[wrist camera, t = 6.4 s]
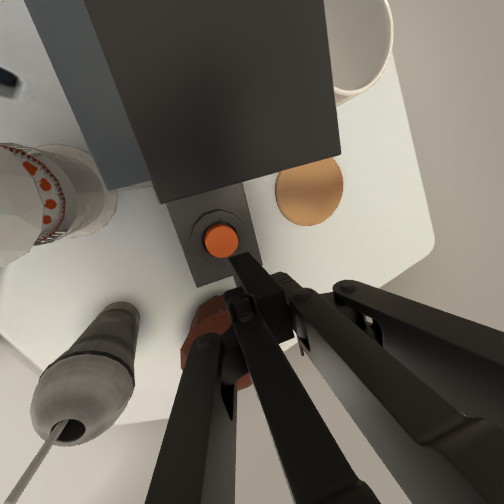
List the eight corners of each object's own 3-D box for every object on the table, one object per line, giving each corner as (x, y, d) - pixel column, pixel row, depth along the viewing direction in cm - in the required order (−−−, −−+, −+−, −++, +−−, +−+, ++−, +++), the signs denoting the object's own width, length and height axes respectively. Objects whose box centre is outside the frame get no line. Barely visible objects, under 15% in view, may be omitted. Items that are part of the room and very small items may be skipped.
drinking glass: (294, 139, 31) (383, 104, 17) (242, 131, 29) (296, 85, 15) (301, 79, 29) (406, -14, 16) (247, 66, 28) (312, -51, 14)
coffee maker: (107, 67, 24) (-287, -533, 4) (303, 33, 28) (617, -356, 8) (155, 195, 29) (85, 225, 8) (320, 150, 32) (551, 96, 12)
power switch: (166, 201, 29) (164, 203, 25) (237, 181, 31) (245, 181, 27) (195, 280, 33) (197, 293, 29) (257, 259, 34) (266, 269, 31)
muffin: (254, 277, 35) (279, 311, 26) (266, 340, 38) (292, 390, 29) (170, 301, 33) (165, 348, 23) (191, 365, 36) (194, 429, 27)
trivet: (267, 160, 31) (269, 160, 30) (335, 142, 33) (338, 141, 32) (283, 233, 34) (284, 234, 34) (344, 213, 36) (347, 214, 36)
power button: (200, 228, 27) (201, 231, 26) (230, 219, 28) (233, 222, 26) (209, 257, 29) (211, 262, 27) (238, 248, 29) (241, 252, 28)
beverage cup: (123, 352, 33) (46, 573, 14) (74, 321, 30) (-102, 546, 11) (162, 314, 33) (136, 486, 14) (117, 280, 30) (11, 438, 12)
